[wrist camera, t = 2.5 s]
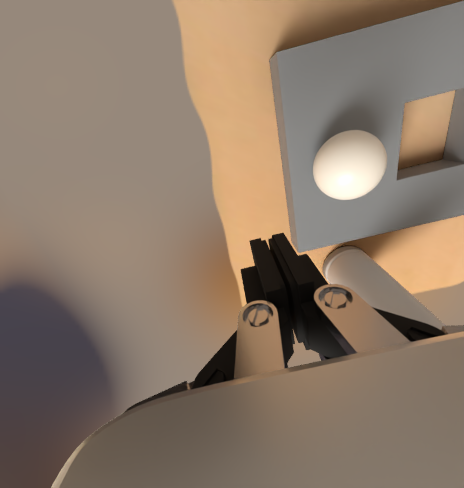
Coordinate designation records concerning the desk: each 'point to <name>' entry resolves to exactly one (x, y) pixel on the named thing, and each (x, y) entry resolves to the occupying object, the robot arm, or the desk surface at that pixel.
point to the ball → (349, 164)
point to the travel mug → (374, 284)
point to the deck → (370, 123)
